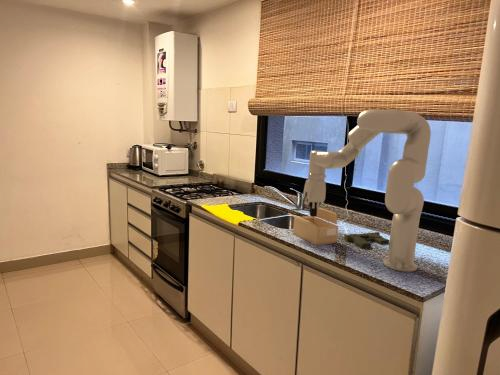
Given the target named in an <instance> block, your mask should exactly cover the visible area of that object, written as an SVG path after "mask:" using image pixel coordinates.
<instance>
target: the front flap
mask: <svg viewBox="0 0 500 375" xmlns="http://www.w3.org/2000/svg"><path fill="white" fill-rule="evenodd" d="M288 215H290V216H291V217H293V218H297V219H299V220H301V221H304V222H306V223H309V224H311V225H313V226H316V227H317V225H315V224H313V223H312V222H310V221H308V220H305V219H303V218H300V217H301V216H298V215H295V214H294V213H293V214H292V213H290V212H288Z"/></svg>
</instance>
